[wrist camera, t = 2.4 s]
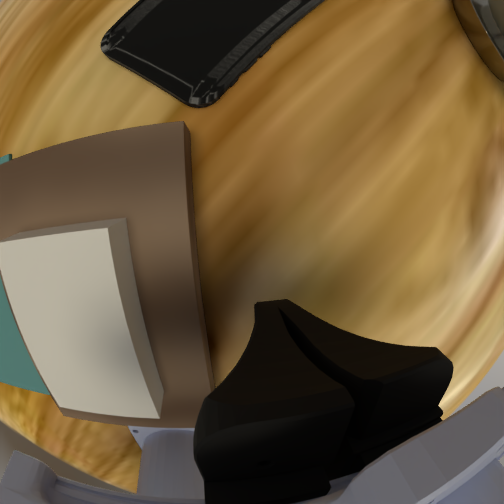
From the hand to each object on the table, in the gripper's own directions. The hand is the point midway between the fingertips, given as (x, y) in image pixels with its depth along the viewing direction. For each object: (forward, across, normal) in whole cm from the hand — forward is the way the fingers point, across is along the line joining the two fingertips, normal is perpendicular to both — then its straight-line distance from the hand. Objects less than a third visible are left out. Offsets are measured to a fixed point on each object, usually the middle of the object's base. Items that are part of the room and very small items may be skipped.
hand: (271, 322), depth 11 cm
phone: (+4, 0, -17) cm, 18 cm away
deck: (+4, +8, 0) cm, 9 cm away
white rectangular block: (0, +8, 0) cm, 9 cm away
